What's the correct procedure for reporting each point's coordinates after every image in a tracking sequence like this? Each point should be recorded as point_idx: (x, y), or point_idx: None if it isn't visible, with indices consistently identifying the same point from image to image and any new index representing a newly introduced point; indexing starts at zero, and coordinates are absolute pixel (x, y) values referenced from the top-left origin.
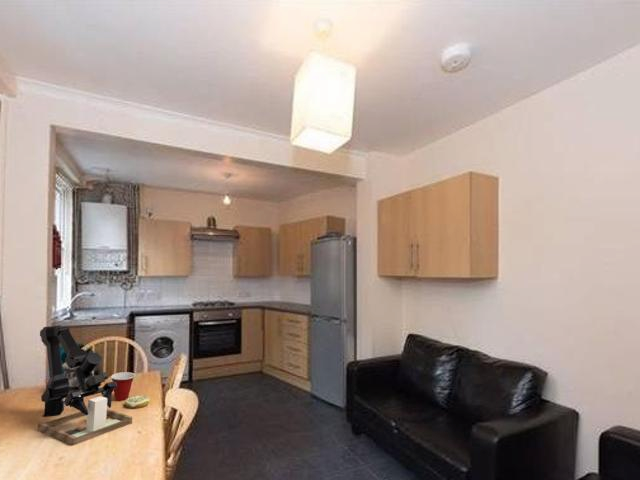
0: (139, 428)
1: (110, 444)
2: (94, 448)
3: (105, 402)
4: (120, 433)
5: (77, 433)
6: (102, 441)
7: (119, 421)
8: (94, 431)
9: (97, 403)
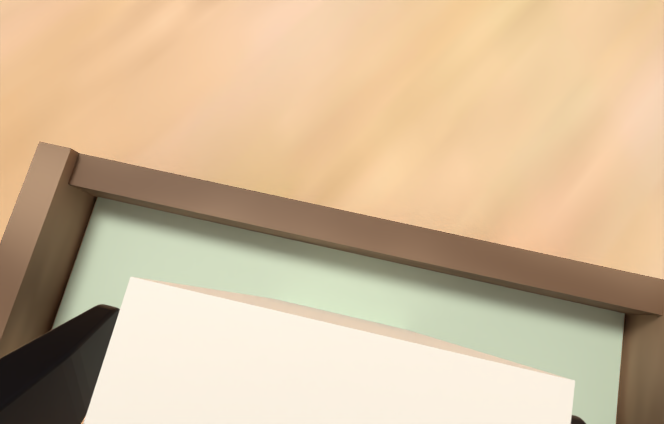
0: (171, 17)
1: (501, 11)
2: (606, 71)
3: (226, 294)
4: (308, 91)
5: None
6: (487, 111)
7: (83, 303)
8: (464, 252)
9: (461, 351)
